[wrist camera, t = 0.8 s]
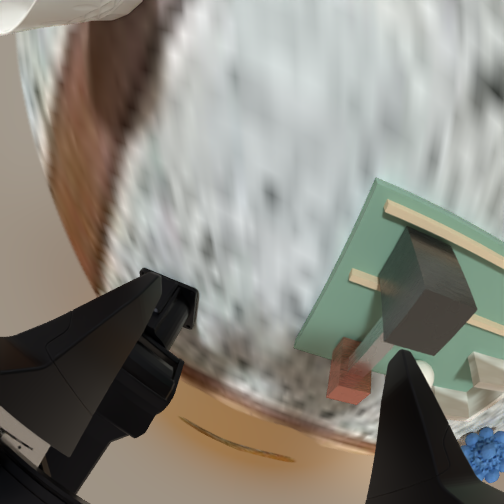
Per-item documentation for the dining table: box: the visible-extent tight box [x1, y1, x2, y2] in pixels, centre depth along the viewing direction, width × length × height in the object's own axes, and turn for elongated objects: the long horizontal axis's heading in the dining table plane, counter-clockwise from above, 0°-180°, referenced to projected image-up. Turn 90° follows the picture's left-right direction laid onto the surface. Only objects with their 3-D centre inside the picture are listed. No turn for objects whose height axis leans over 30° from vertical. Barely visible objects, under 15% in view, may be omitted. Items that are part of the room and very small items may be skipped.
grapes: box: [461, 427, 504, 483], centre depth 27 cm, size 12×7×12 cm, turn 121°
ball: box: [416, 360, 434, 388], centre depth 23 cm, size 4×4×4 cm
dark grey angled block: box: [326, 226, 478, 405], centre depth 19 cm, size 14×4×6 cm, turn 168°
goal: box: [431, 351, 504, 422], centre depth 23 cm, size 8×7×5 cm
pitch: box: [294, 178, 504, 392], centre depth 21 cm, size 18×26×2 cm
